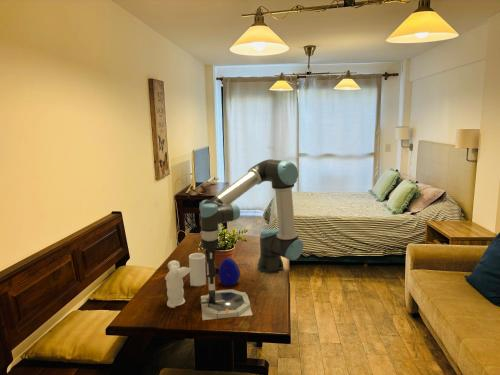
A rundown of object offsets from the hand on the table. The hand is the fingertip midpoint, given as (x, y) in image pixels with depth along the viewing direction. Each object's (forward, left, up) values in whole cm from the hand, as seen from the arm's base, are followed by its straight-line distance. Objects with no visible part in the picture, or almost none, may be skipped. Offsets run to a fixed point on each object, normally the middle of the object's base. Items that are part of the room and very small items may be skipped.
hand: (211, 283), depth 166 cm
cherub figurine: (+15, -7, -13) cm, 21 cm away
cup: (+6, -26, -13) cm, 30 cm away
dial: (-6, 0, -12) cm, 13 cm away
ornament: (-10, -22, -13) cm, 28 cm away
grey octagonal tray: (-6, 0, -13) cm, 14 cm away
